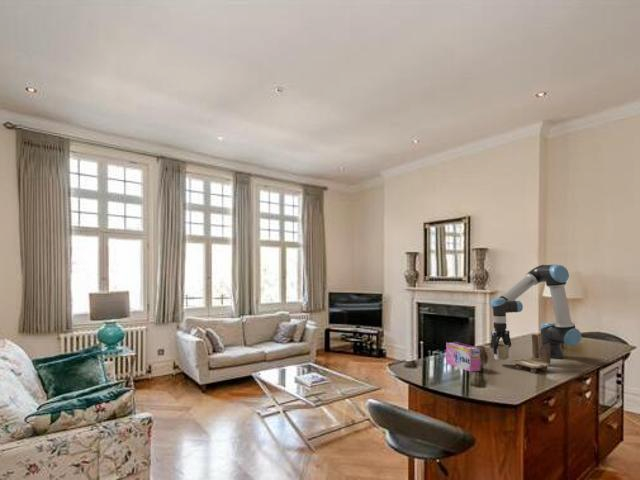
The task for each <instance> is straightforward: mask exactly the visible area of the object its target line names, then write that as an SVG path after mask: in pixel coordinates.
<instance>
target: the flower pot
mask: <svg viewBox="0 0 640 480" xmlns="http://www.w3.org/2000/svg"><path fill="white" fill-rule="evenodd" d="M495 347H496V346H495ZM508 348H509V349H510V347H509V345H505V344H504V343H499V344H498V347H497V349H498V353H499V360H501V361H502V360H503V361H506V360H508V358H507V356H508Z"/></svg>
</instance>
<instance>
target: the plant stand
mask: <svg viewBox="0 0 640 480" xmlns="http://www.w3.org/2000/svg"><path fill="white" fill-rule="evenodd" d="M511 363H513V364H515V369H517V370H521V369H522V366H525V367H527V368H529V369H530V373H531V374H537V368H538V369H539V368H541V370H542V372H548V367H551V366H552V363H551V364H550V363H546V362H542V361H537V360H533V359H532V358H522V359H516V360H511Z"/></svg>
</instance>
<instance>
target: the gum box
mask: <svg viewBox="0 0 640 480" xmlns="http://www.w3.org/2000/svg"><path fill="white" fill-rule="evenodd" d="M445 343H446V345H445V347H446V349H445V350H446V352H445V354H446V358H445V359H446V364H447V365H451V366H453V367H456V368H459V369H462V370H465V371H468V372H473V373H474V372H479V371H482V369H481V348H480V347H477V346H474V345H470V344H466V343H462V342H460V341H459V342H458V341H453V342H447V341H446V342H445Z"/></svg>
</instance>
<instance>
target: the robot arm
mask: <svg viewBox="0 0 640 480" xmlns="http://www.w3.org/2000/svg"><path fill="white" fill-rule="evenodd" d="M569 277H570V273H569V271H568V268H567V267H565V266H564V265H561V264H540V265H538V266H536V267H534V268H533V269H530V271H528V272H527V273H526V274H525V276H524V277H523V278H521V280H519V281H518V282H517V283H515V285H513V286H512V287H510V288H509V289H508V290H507V291H506V292H504V293H503V294H502V295H500V296H499V297H496V298H495V297H493V299H491V300H490V308H492V318H493V319H492V321H493V329H494V331H491V333H490V335H491V340H490V348H491V349H493V356H494V360H500V359H499V353H498V349H497V347H498V344H500V340H501V339H502V342H503V344H505V345H509V348H508V356H507V359H509V358H510V353H509V352H510V348H511V347H512V341H511V335H510V330H507V329H508V328H507V314H508V313H516V314H517V313H520V312H522V311H523V308H524V306H523V303H522V301H520V300H517V299H518V298H519V297H520V296H522V295H523V294H525V292H527V291H528V290H529V289H530V288H532V287H533V286H537V285H539V284H540V283H543V282H545V284H546V287H547V288H549V292H550V295H551V302H552V307H553V311H554V312H553V313H554V316H555V320H556V322H554V323H553V322H550V323H549V322H546V323H541V324H540V338H541V339H540V342H541V345H540V348H539V350H540V349H541V348H542V347H543V346H544V345H545V344H547V343H550V359H558V360H560V359H564V358H565V354H564V352H563V348H562V346H561V345H564V346H570V347H573V346H577V345H579V343H580V342H581V340H582V333H581V331H580V330H579V329H578V328H576V324H575V323H574V322H572V318H571V313H570V308H569V304H568V298H567V293H566V288H565V286H566V285H567V281H568V280H569ZM495 346H496V347H495ZM539 357H540V358H542V354H540V353H539Z"/></svg>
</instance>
